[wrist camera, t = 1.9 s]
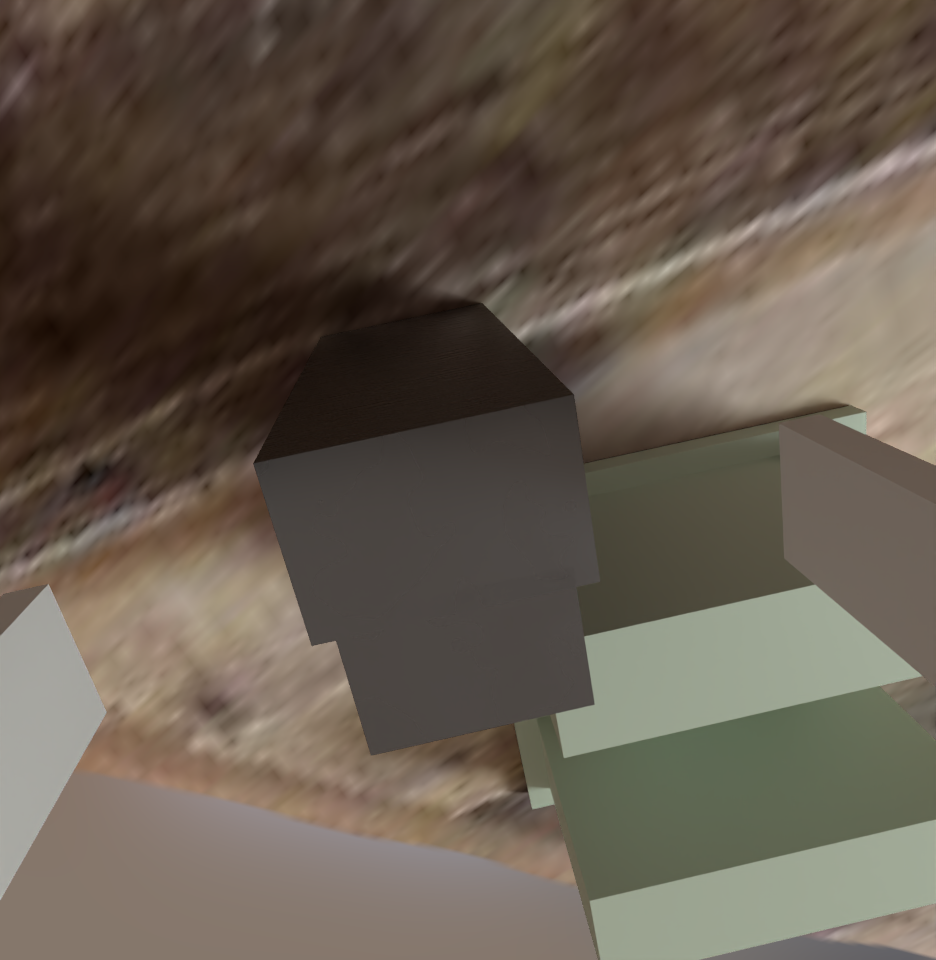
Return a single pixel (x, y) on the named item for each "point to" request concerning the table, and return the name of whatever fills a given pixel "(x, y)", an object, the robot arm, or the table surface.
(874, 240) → the table surface
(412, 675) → the stepped grey block
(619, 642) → the green slotted holder
